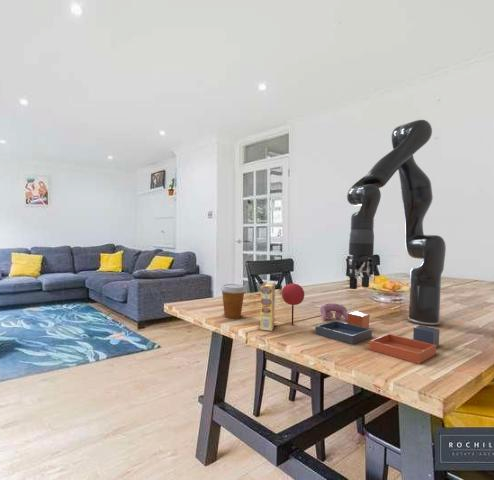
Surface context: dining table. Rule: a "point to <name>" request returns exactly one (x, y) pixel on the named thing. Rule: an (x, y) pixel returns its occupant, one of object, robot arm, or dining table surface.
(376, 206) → the robot arm
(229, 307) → the disposable coffee cup
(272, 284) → the candy box
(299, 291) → the lollipop
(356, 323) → the terracotta block
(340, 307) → the toy elephant
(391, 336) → the terracotta tray
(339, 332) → the slate tray
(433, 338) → the slate block
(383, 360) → the dining table surface
